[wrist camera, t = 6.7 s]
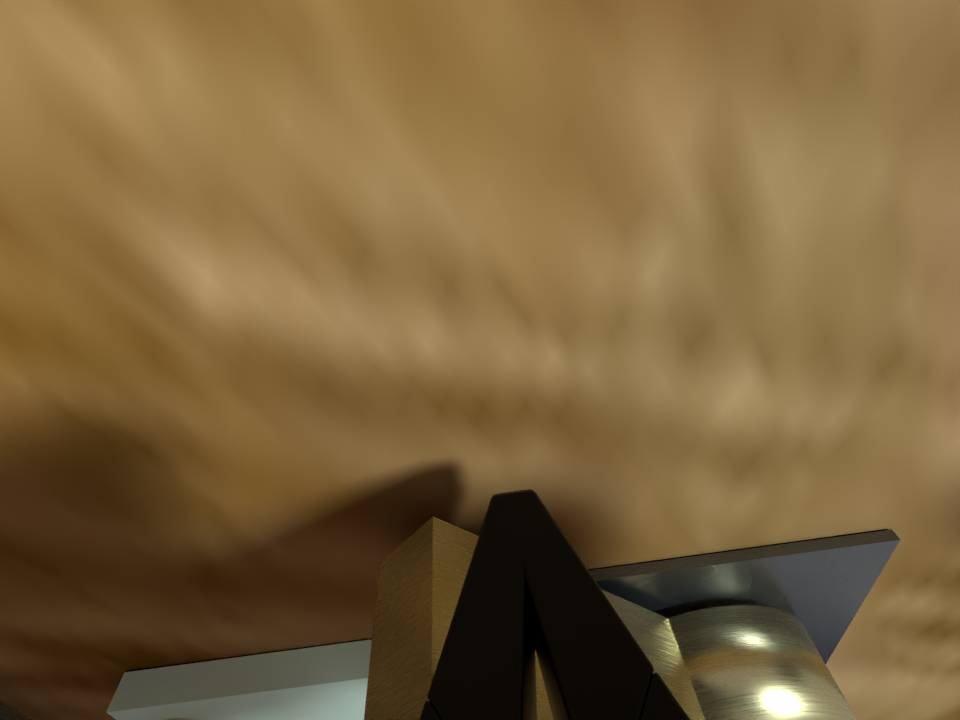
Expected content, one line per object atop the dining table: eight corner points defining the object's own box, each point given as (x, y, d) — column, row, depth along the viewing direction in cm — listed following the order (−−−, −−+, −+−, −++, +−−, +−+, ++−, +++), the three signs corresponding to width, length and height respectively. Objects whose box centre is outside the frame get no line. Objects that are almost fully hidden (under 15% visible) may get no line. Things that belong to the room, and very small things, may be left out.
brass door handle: (843, 641, 15) (936, 791, 12) (682, 714, 18) (729, 852, 15) (495, 460, 10) (520, 657, 7) (333, 604, 12) (302, 792, 9)
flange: (804, 681, 18) (809, 690, 18) (553, 713, 18) (555, 723, 18) (891, 529, 13) (900, 539, 13) (537, 577, 13) (539, 588, 13)
